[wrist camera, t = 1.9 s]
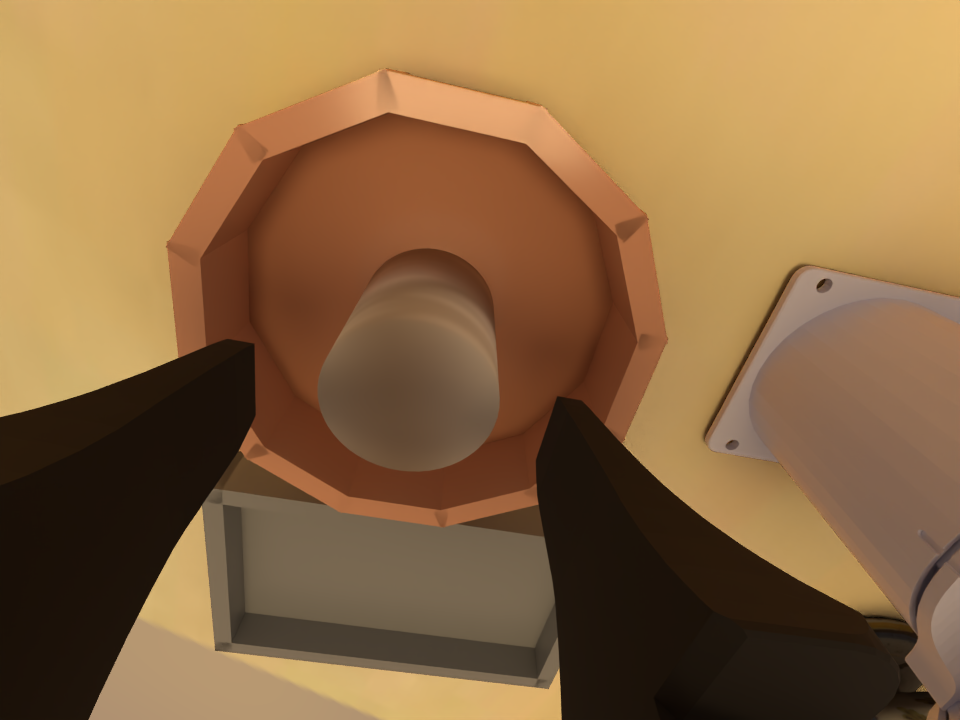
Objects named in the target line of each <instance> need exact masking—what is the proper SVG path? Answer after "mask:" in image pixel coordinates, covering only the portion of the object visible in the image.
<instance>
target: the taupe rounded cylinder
mask: <svg viewBox="0 0 960 720" xmlns="http://www.w3.org/2000/svg"><path fill="white" fill-rule="evenodd" d="M318 401H319V407H320V410H321V413H322V416H323V418H324V420H325V422H326V424H327V426H328V427H329V429H330V430H331V431H332V433H333V434H334V435H335V437H336V438H337V439H338V440H339V441H340V442H341V443H342V444H343V445H344V446H345V447H347V448H348V449H349V450H350V451H352V452H353V453H355V454H356V455H358V456H359V457H361V458H363V459H365V460H367V461H369V462H371V463H374V464H376V465H379V466H382V467H385V468H389V469H394V470H400V471H417V472H420V471H430V470H435V469H440V468H444V467H447V466H450V465H453V464H455V463H457V462H459V461H461V460H463V459H465V458H466V457H468V456H469V455H471V454H472V453H473V452H475V451H476V450H477V449H478V448H479V447H480V446H481V445H482V444H483V443H484V442H485V441H486V439H487V438H488V437H489V435H490V433H491V432H492V430H493V428H494V426H495V423H496V420H497V417H498V412H499V403H500V396H499V380H498V365H497V349H496V334H495V318H494V305H493V299H492V295H491V292H490V290H489V287H488V285H487V283H486V281H485V280H484V278H483V277H482V276H481V274H480V273H479V272H478V271H477V270H476V269H475V268H474V267H473V266H472V265H471V264H470V263H468V262H467V261H466V260H464V259H462V258H461V257H459V256H457V255H455V254H452V253H450V252H447V251H443V250H438V249H431V248H421V249H413V250H409V251H405V252H403V253H400V254H398V255H396V256H394V257H392V258H390V259H389V260H388V261H386V262H385V263H384V264H382V266H381V267H380V268H379V269H378V270H377V271H376V272H375V274H374V275H373V277H372V278H371V280H370V282H369V283H368V285H367V287H366V289H365V291H364V292H363V294H362V296H361V298H360V299H359V301H358V303H357V305H356V306H355V308H354V310H353V312H352V314H351V315H350V317H349V319H348V321H347V322H346V324H345V326H344V328H343V330H342V331H341V333H340V335H339V337H338V338H337V340H336V342H335V344H334V345H333V347H332V349H331V351H330V353H329V354H328V356H327V358H326V360H325V362H324V364H323V366H322V368H321V372H320V375H319V380H318Z"/></svg>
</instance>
